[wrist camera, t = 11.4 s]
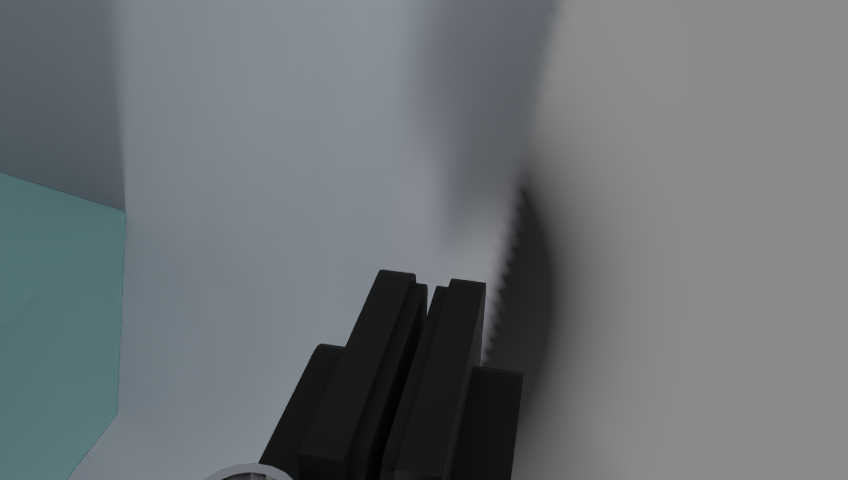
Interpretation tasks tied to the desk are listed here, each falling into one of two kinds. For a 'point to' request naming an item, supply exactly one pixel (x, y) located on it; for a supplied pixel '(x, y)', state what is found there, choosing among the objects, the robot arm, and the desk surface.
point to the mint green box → (56, 327)
